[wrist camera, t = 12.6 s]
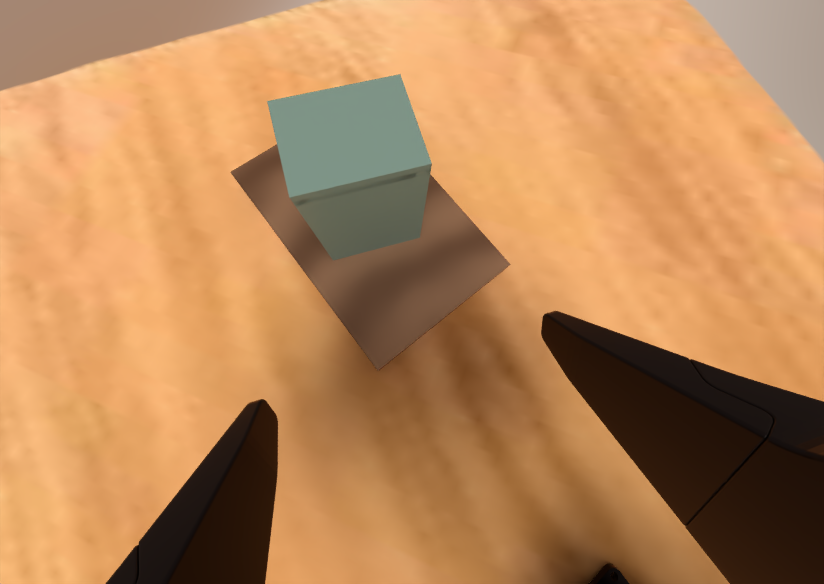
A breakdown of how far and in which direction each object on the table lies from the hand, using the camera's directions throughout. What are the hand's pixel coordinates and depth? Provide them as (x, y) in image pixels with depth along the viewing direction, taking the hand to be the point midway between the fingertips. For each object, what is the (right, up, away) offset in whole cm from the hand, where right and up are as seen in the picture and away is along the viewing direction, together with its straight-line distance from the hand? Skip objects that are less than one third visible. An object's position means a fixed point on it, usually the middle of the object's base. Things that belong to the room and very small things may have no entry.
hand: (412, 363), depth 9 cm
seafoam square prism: (-4, +8, +14) cm, 17 cm away
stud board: (-4, +8, +16) cm, 18 cm away
